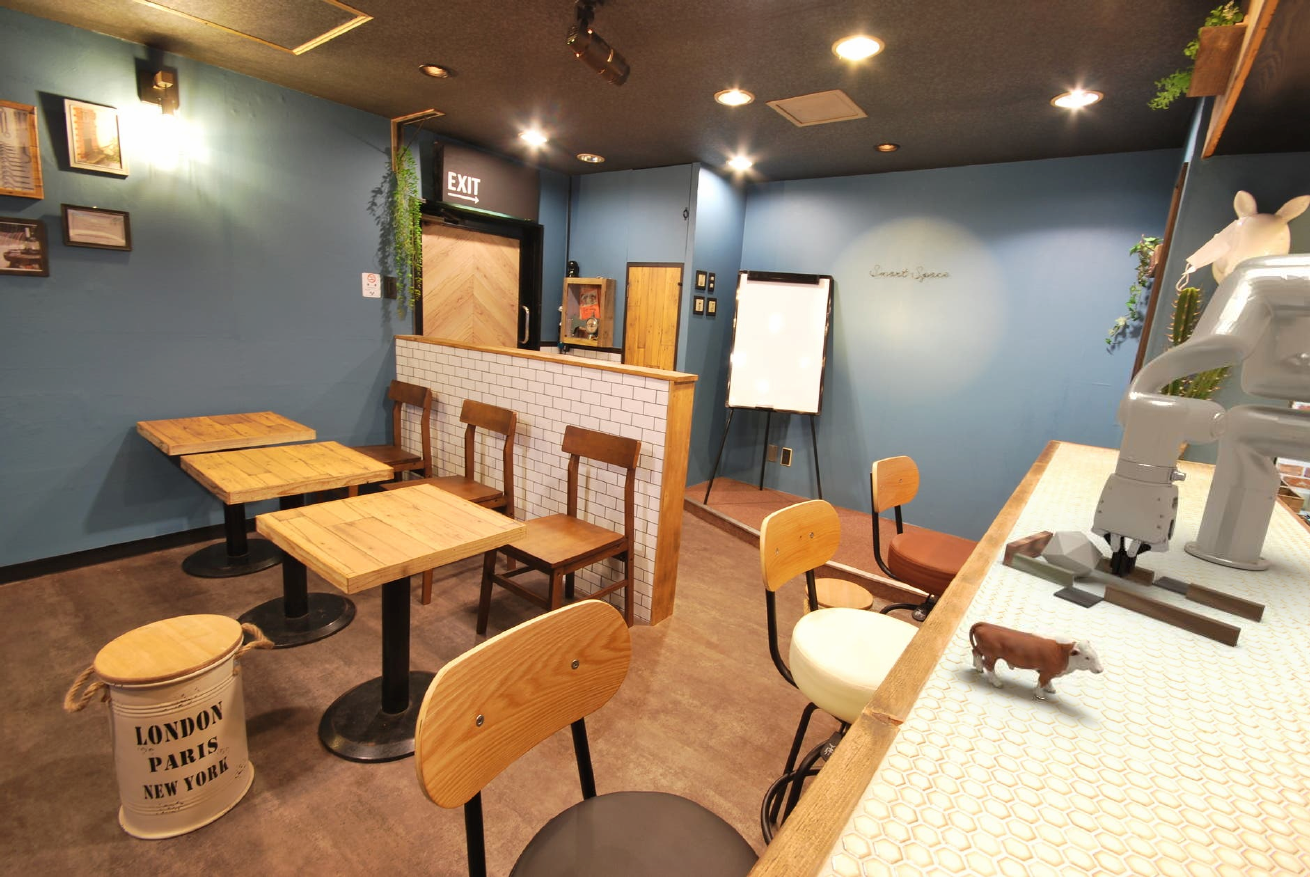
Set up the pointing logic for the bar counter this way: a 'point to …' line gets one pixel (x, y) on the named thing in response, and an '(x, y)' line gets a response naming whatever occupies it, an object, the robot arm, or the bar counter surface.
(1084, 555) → the die
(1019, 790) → the bar counter surface
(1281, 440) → the robot arm
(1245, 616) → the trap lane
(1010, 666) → the bull figurine
